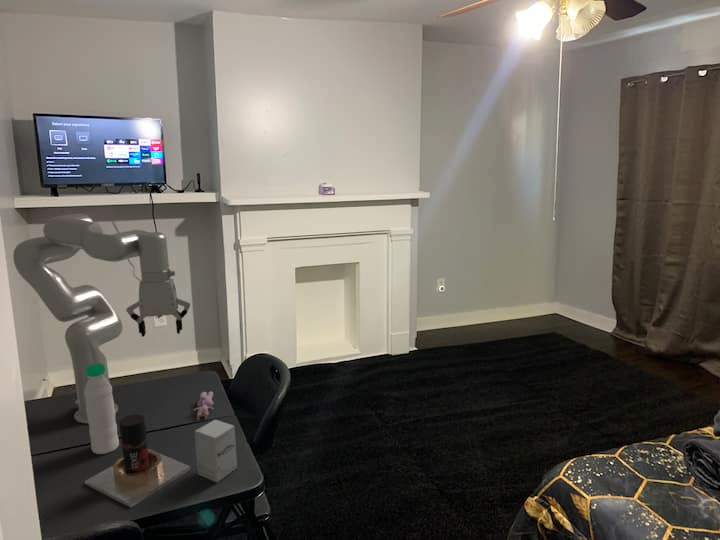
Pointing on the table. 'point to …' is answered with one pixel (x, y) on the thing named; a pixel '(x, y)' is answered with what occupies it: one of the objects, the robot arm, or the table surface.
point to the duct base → (140, 490)
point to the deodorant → (134, 444)
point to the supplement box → (215, 450)
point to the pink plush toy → (204, 404)
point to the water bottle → (100, 411)
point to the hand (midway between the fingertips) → (161, 333)
